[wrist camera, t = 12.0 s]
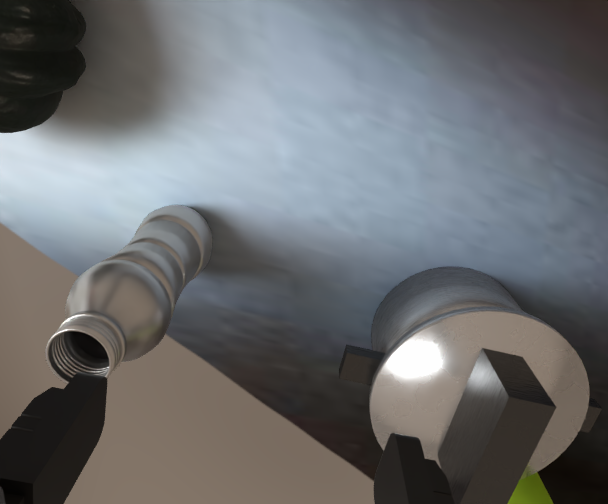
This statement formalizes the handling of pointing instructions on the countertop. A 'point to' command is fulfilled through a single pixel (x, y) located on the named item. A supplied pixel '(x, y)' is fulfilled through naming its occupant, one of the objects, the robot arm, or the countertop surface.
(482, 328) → the cooker lid
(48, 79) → the squash
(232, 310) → the countertop surface
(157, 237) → the plastic bottle
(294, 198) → the countertop surface
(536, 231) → the countertop surface
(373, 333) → the cooker pot
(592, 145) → the countertop surface
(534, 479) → the soap dispenser
